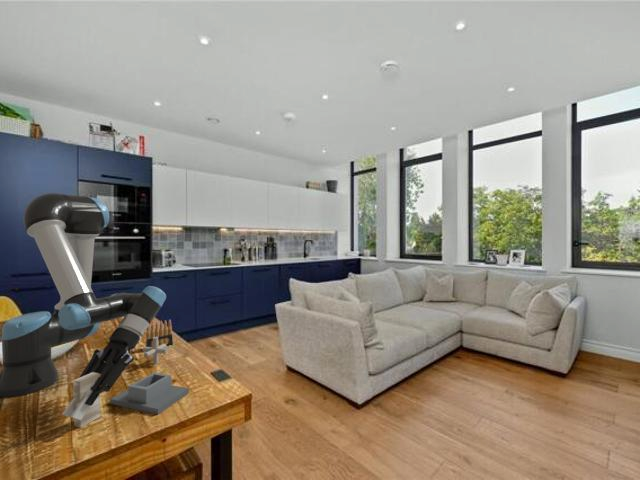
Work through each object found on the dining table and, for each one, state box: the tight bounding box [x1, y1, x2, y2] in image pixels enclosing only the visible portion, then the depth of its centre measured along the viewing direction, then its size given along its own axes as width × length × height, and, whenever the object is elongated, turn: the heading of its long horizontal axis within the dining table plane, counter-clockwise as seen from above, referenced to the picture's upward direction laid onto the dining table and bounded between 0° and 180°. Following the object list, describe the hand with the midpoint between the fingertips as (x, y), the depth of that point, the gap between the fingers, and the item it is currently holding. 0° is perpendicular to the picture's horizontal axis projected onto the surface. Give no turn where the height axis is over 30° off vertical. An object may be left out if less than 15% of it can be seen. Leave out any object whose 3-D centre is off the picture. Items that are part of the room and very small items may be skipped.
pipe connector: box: [142, 337, 169, 365], centre depth 118 cm, size 10×10×10 cm
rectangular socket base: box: [109, 371, 190, 415], centre depth 93 cm, size 18×12×6 cm, turn 72°
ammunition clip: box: [145, 319, 174, 347], centre depth 134 cm, size 11×2×12 cm, turn 133°
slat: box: [72, 372, 101, 429], centre depth 81 cm, size 2×5×12 cm, turn 163°
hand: (71, 417), depth 77 cm, fingers closed on slat, 2 cm apart
